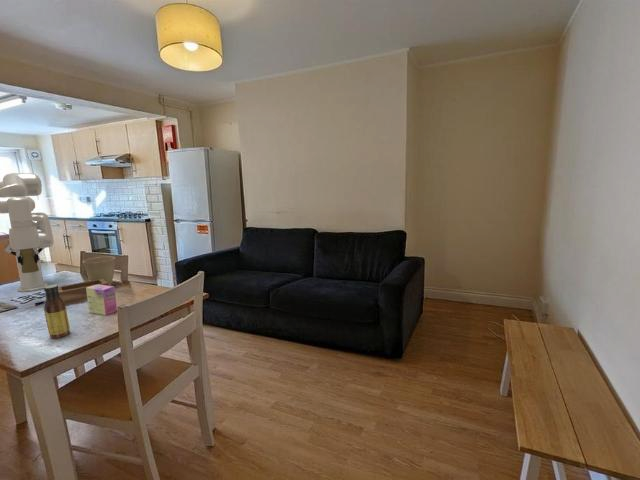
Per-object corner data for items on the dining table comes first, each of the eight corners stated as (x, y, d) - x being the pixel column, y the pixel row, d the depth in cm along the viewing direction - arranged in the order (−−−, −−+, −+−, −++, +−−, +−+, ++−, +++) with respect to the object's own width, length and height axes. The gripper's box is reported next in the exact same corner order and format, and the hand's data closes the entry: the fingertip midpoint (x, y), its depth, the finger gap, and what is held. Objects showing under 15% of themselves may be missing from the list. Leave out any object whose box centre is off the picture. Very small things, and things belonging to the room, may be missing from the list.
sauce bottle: (57, 331, 124) (49, 283, 121) (74, 331, 125) (66, 282, 121) (44, 339, 118) (35, 288, 114) (62, 339, 118) (54, 288, 115)
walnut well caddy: (57, 300, 158) (55, 287, 157) (104, 290, 172) (102, 278, 171) (60, 306, 150) (58, 292, 148) (109, 296, 164) (108, 283, 162)
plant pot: (106, 281, 188) (103, 255, 186) (124, 284, 183) (121, 257, 180) (80, 289, 175) (76, 261, 172) (98, 292, 169) (94, 263, 167)
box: (117, 310, 144) (114, 286, 142) (105, 315, 139) (102, 290, 137) (101, 308, 148) (97, 283, 146) (89, 312, 142) (85, 287, 140)
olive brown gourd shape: (28, 273, 145) (24, 249, 143) (18, 272, 146) (13, 249, 144) (42, 269, 151) (38, 247, 149) (32, 269, 152) (28, 246, 150)
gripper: (45, 222, 153) (51, 259, 156) (-4, 225, 141) (3, 265, 144) (47, 223, 148) (53, 261, 151) (-5, 227, 136) (3, 268, 139)
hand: (29, 263), depth 148 cm, fingers closed on olive brown gourd shape, 4 cm apart
